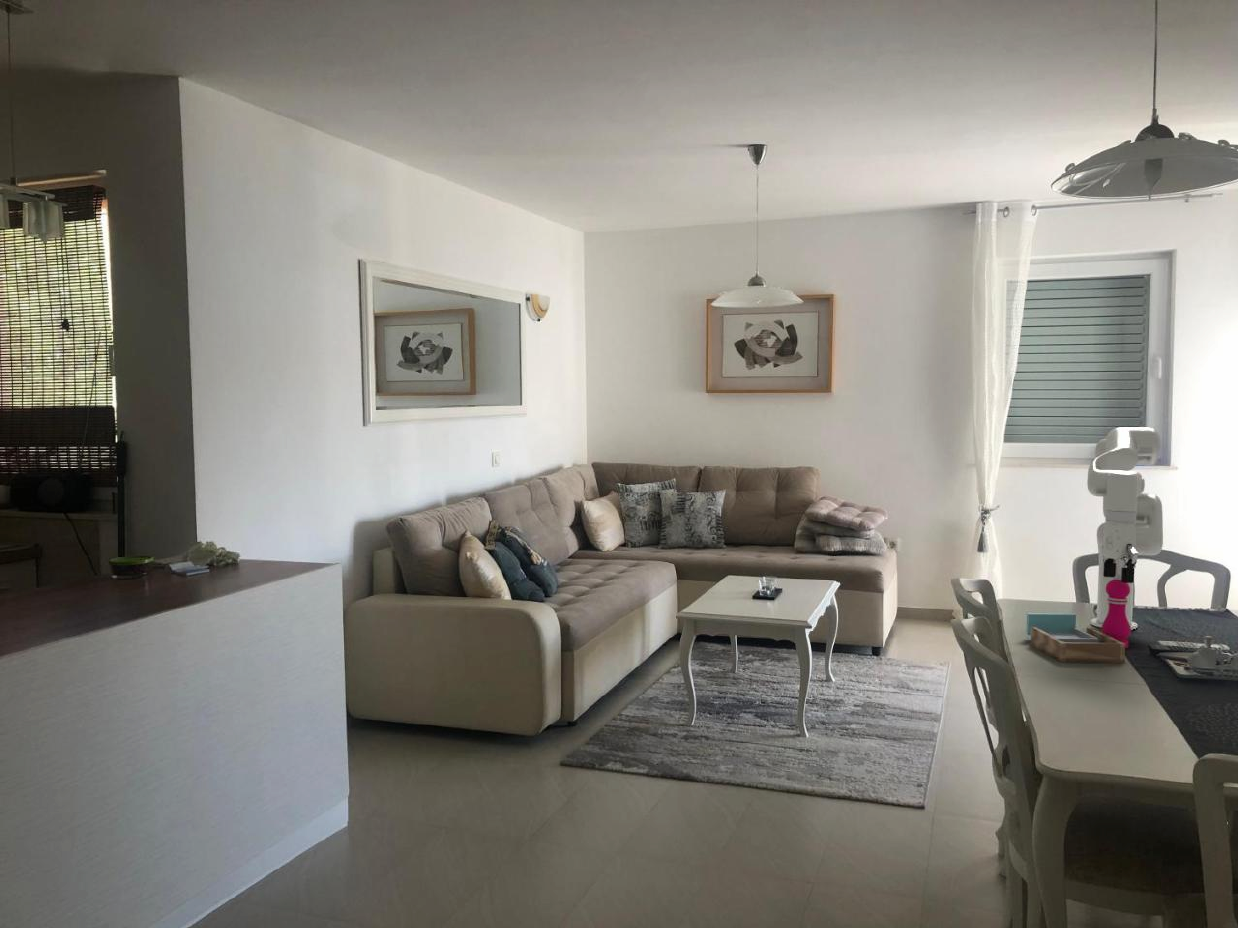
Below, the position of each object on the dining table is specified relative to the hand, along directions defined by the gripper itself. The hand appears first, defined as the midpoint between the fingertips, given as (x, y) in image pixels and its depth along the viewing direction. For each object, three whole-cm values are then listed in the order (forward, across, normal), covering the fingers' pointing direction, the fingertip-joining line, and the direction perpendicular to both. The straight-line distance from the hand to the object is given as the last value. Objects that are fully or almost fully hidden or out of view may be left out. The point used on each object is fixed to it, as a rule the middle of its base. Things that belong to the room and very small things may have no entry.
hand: (1118, 579), depth 270 cm
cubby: (+19, +9, -15) cm, 26 cm away
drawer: (+17, 0, -15) cm, 23 cm away
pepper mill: (+19, -1, 0) cm, 19 cm away
